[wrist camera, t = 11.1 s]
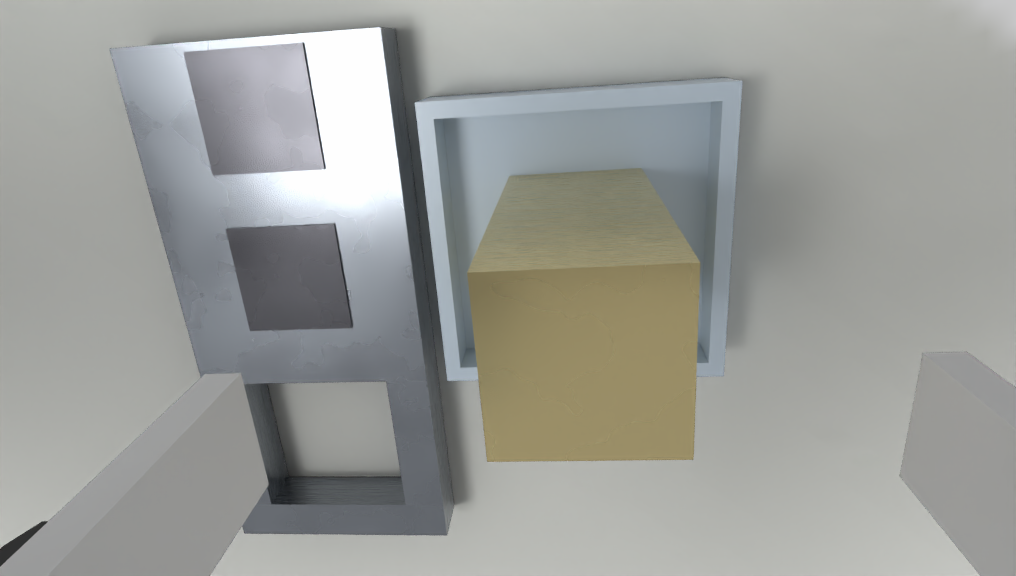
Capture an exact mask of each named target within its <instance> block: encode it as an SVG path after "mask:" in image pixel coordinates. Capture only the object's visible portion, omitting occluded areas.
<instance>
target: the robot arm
mask: <svg viewBox="0 0 1016 576" xmlns="http://www.w3.org/2000/svg"><path fill="white" fill-rule="evenodd" d="M899 476H900V477H901V479H902V480H903V481H904V482H905V484H906V485H907V486H908V487H909V488H910V490H911V491H912V492H913V493H914V495H915V496H916V497H917V498H918V500H919V501H920V502H921V503H922V505H923V506H924V507H925V508H926V509H927V511H928V512H929V513H930V514H931V516H932V517H933V518H934V519H935V521H936V522H937V523H938V524H939V526H940V527H941V528H942V529H943V530H944V532H945V533H946V534H947V535H948V537H949V538H950V539H951V540H952V542H953V543H954V544H955V545H956V546H957V548H958V549H959V550H960V551H961V553H962V554H963V555H964V556H965V558H966V559H967V560H968V561H969V563H970V564H971V565H972V566H973V567H974V569H975V570H976V571H977V572H978V574H979V575H980V576H1016V387H1014V386H1013V385H1012V384H1010V383H1009V382H1008V381H1006V380H1005V379H1003V378H1002V377H1001V376H999V375H998V374H997V373H995V372H994V371H993V370H991V369H990V368H988V367H987V366H986V365H984V364H983V363H982V362H980V361H979V360H978V359H976V358H975V357H973V356H972V355H971V354H969V353H968V352H937V353H923V355H922V360H921V365H920V370H919V376H918V381H917V386H916V391H915V397H914V402H913V407H912V412H911V418H910V423H909V428H908V433H907V439H906V444H905V449H904V454H903V460H902V465H901V470H900V475H899ZM268 485H269V483H268V479H267V475H266V471H265V467H264V463H263V459H262V455H261V451H260V447H259V443H258V439H257V435H256V431H255V427H254V423H253V419H252V415H251V411H250V407H249V403H248V399H247V395H246V391H245V387H244V383H243V379H242V375H241V373H225V374H204V375H203V376H202V377H201V378H200V379H199V380H198V381H197V382H196V383H195V384H194V385H193V386H192V387H191V388H190V389H189V390H187V391H186V392H185V393H184V394H183V395H182V396H181V397H180V398H179V399H178V400H177V401H176V402H175V403H174V404H173V405H172V406H170V407H169V408H168V409H167V410H166V411H165V412H164V413H163V414H162V415H161V416H160V417H159V418H158V419H157V420H156V421H155V422H153V423H152V424H151V425H150V426H149V427H148V428H147V429H146V430H145V431H144V432H143V433H142V434H141V435H140V436H139V437H138V438H136V439H135V440H134V441H133V442H132V443H131V444H130V445H129V446H128V447H127V448H126V449H125V450H124V451H123V452H122V453H121V454H119V455H118V456H117V457H116V458H115V459H114V460H113V461H112V462H111V463H110V464H109V465H108V466H107V467H106V468H105V469H104V470H102V471H101V472H100V473H99V474H98V475H97V476H96V477H95V478H94V479H93V480H92V481H91V482H90V483H89V484H88V485H87V486H85V487H84V488H83V489H82V490H81V491H80V492H79V493H78V494H77V495H76V496H75V497H74V498H73V499H72V500H71V501H70V502H68V503H67V504H66V505H65V506H64V507H63V508H62V509H61V510H60V511H59V512H58V513H57V514H56V515H55V516H54V517H53V518H51V519H50V520H49V521H44V522H41V523H39V524H37V525H36V526H34V527H33V528H31V529H30V530H28V531H26V532H25V533H23V534H22V535H20V536H18V537H17V538H15V539H14V540H12V541H10V542H9V543H7V544H6V545H4V546H3V547H2V548H1V549H0V576H210V575H211V573H212V572H213V570H214V568H215V567H216V565H217V564H218V562H219V561H220V559H221V558H222V556H223V555H224V553H225V551H226V550H227V548H228V547H229V545H230V544H231V542H232V541H233V539H234V538H235V536H236V534H237V533H238V531H239V530H240V528H241V527H242V525H243V524H244V522H245V521H246V519H247V517H248V516H249V514H250V513H251V511H252V510H253V508H254V507H255V505H256V504H257V502H258V501H259V499H260V497H261V496H262V494H263V493H264V491H265V490H266V488H267V487H268Z"/></svg>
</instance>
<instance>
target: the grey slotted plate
mask: <svg viewBox="0 0 1016 576" xmlns="http://www.w3.org/2000/svg"><path fill="white" fill-rule="evenodd" d="M110 53H111V56H112V60H113V64H114V67H115V71H116V74H117V78H118V82H119V85H120V89H121V92H122V96H123V99H124V103H125V107H126V110H127V114H128V117H129V121H130V125H131V128H132V132H133V135H134V139H135V143H136V146H137V150H138V153H139V157H140V161H141V164H142V168H143V171H144V175H145V178H146V182H147V186H148V189H149V193H150V196H151V200H152V204H153V207H154V211H155V214H156V218H157V222H158V225H159V229H160V232H161V236H162V240H163V243H164V247H165V250H166V254H167V257H168V261H169V265H170V268H171V272H172V275H173V279H174V283H175V286H176V290H177V293H178V297H179V301H180V304H181V308H182V311H183V315H184V319H185V322H186V326H187V329H188V333H189V336H190V340H191V344H192V347H193V351H194V354H195V358H196V362H197V365H198V369H199V372H200V376H201V377H202V376H203V375H204V374H225V373H241V375H242V379H243V383H244V387H245V391H246V395H247V399H248V403H249V407H250V411H251V415H252V419H253V423H254V427H255V431H256V435H257V439H258V443H259V447H260V451H261V455H262V459H263V463H264V467H265V471H266V475H267V479H268V483H269V485H268V487H267V488H266V490H265V491H264V493H263V494H262V496H261V497H260V499H259V501H258V502H257V504H256V505H255V507H254V508H253V510H252V511H251V513H250V514H249V516H248V517H247V519H246V521H245V522H244V524H243V525H242V527H243V530H244V533H250V534H354V535H447V533H448V529H449V525H450V521H451V517H452V513H453V509H454V501H453V492H452V484H451V476H450V468H449V460H448V452H447V444H446V436H445V428H444V419H443V411H442V403H441V395H440V387H439V379H438V371H437V363H436V355H435V346H434V338H433V330H432V322H431V314H430V306H429V298H428V290H427V282H426V273H425V265H424V257H423V249H422V241H421V233H420V225H419V217H418V209H417V200H416V192H415V184H414V176H413V168H412V160H411V152H410V144H409V136H408V127H407V119H406V111H405V103H404V95H403V87H402V79H401V71H400V63H399V54H398V46H397V38H396V30H395V29H394V28H384V27H375V28H363V29H350V30H338V31H325V32H312V33H300V34H287V35H274V36H262V37H249V38H237V39H224V40H211V41H199V42H186V43H173V44H161V45H148V46H136V47H123V48H110ZM376 381H386V383H387V389H388V396H389V402H390V408H391V415H392V421H393V427H394V434H395V440H396V446H397V453H398V459H399V465H400V472H401V477H289V475H288V471H287V467H286V463H285V458H284V454H283V450H282V446H281V442H280V437H279V433H278V429H277V425H276V420H275V416H274V412H273V408H272V403H271V399H270V395H269V391H268V387H267V383H318V382H376Z"/></svg>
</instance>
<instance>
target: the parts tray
mask: <svg viewBox="0 0 1016 576" xmlns="http://www.w3.org/2000/svg"><path fill="white" fill-rule="evenodd" d="M741 96H742V81H740V80H735V79H730V78H725V77H723V78H708V79H693V80H678V81H663V82H648V83H633V84H617V85H602V86H587V87H572V88H557V89H542V90H527V91H512V92H497V93H482V94H467V95H452V96H437V97H428V98H425V99H423V100H420V101H417V102H415V110H416V118H417V127H418V135H419V144H420V152H421V161H422V169H423V178H424V186H425V195H426V203H427V212H428V220H429V229H430V237H431V246H432V254H433V263H434V271H435V280H436V288H437V297H438V305H439V314H440V322H441V331H442V339H443V348H444V356H445V365H446V373H447V381H474V380H478V371H477V361H476V352H475V343H474V333H473V324H472V314H471V305H470V296H469V286H468V277H467V272H468V269H469V267H470V265H471V263H472V260H473V258H474V256H475V253H476V251H477V249H478V247H479V244H480V242H481V240H482V237H483V235H484V233H485V230H486V228H487V226H488V224H489V221H490V219H491V217H492V214H493V212H494V210H495V208H496V205H497V203H498V201H499V198H500V196H501V194H502V192H503V189H504V187H505V185H506V182H507V180H508V178H509V176H516V175H532V174H549V173H565V172H582V171H598V170H615V169H631V168H642V170H643V171H644V173H645V174H646V176H647V178H648V179H649V181H650V182H651V184H652V186H653V187H654V189H655V190H656V192H657V194H658V195H659V197H660V198H661V200H662V202H663V203H664V205H665V207H666V208H667V210H668V211H669V213H670V215H671V216H672V218H673V219H674V221H675V223H676V224H677V226H678V227H679V229H680V231H681V232H682V234H683V235H684V237H685V239H686V240H687V242H688V243H689V245H690V247H691V248H692V250H693V251H694V253H695V255H696V256H697V258H698V260H699V261H700V287H699V315H698V344H697V372H696V377H708V376H724V365H725V349H726V333H727V317H728V302H729V286H730V270H731V254H732V238H733V223H734V207H735V191H736V175H737V159H738V144H739V128H740V112H741Z"/></svg>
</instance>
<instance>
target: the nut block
mask: <svg viewBox="0 0 1016 576" xmlns="http://www.w3.org/2000/svg"><path fill="white" fill-rule="evenodd" d="M467 277H468V286H469V296H470V305H471V314H472V324H473V333H474V343H475V352H476V361H477V371H478V380H479V389H480V399H481V408H482V417H483V427H484V436H485V445H486V455H487V462H509V461H605V460H693V457H694V429H695V400H696V372H697V344H698V315H699V287H700V261H699V260H698V258H697V256H696V255H695V253H694V251H693V250H692V248H691V247H690V245H689V243H688V242H687V240H686V239H685V237H684V235H683V234H682V232H681V231H680V229H679V227H678V226H677V224H676V223H675V221H674V219H673V218H672V216H671V215H670V213H669V211H668V210H667V208H666V207H665V205H664V203H663V202H662V200H661V198H660V197H659V195H658V194H657V192H656V190H655V189H654V187H653V186H652V184H651V182H650V181H649V179H648V178H647V176H646V174H645V173H644V171H643V170H642V168H631V169H615V170H598V171H582V172H565V173H549V174H532V175H516V176H509V178H508V180H507V182H506V185H505V187H504V189H503V192H502V194H501V196H500V198H499V201H498V203H497V205H496V208H495V210H494V212H493V214H492V217H491V219H490V221H489V224H488V226H487V228H486V230H485V233H484V235H483V237H482V240H481V242H480V244H479V247H478V249H477V251H476V253H475V256H474V258H473V260H472V263H471V265H470V267H469V269H468V272H467Z"/></svg>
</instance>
